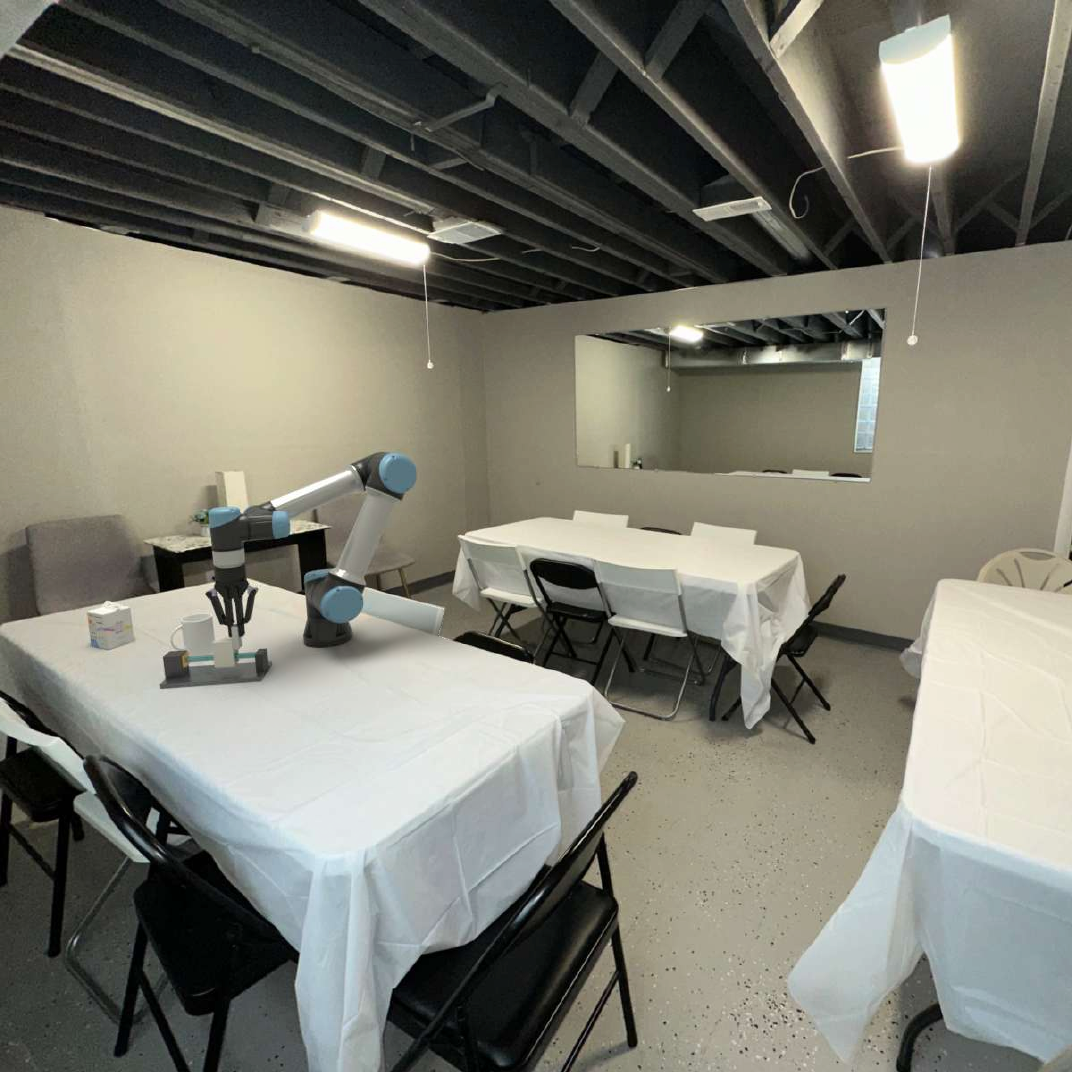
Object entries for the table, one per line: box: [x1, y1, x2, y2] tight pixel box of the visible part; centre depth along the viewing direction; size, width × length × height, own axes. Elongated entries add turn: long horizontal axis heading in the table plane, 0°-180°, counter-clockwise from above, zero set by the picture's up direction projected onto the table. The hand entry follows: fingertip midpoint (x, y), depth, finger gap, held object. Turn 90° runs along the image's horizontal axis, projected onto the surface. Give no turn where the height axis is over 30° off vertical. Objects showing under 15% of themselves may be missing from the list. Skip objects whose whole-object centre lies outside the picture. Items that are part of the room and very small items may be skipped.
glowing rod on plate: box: [159, 647, 273, 689], centre depth 157 cm, size 25×11×7 cm, turn 100°
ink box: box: [86, 600, 136, 651], centre depth 180 cm, size 9×8×13 cm
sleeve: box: [212, 636, 240, 668], centre depth 157 cm, size 5×4×7 cm
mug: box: [169, 612, 216, 656], centre depth 170 cm, size 12×8×12 cm
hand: (238, 647), depth 157 cm, fingers closed
